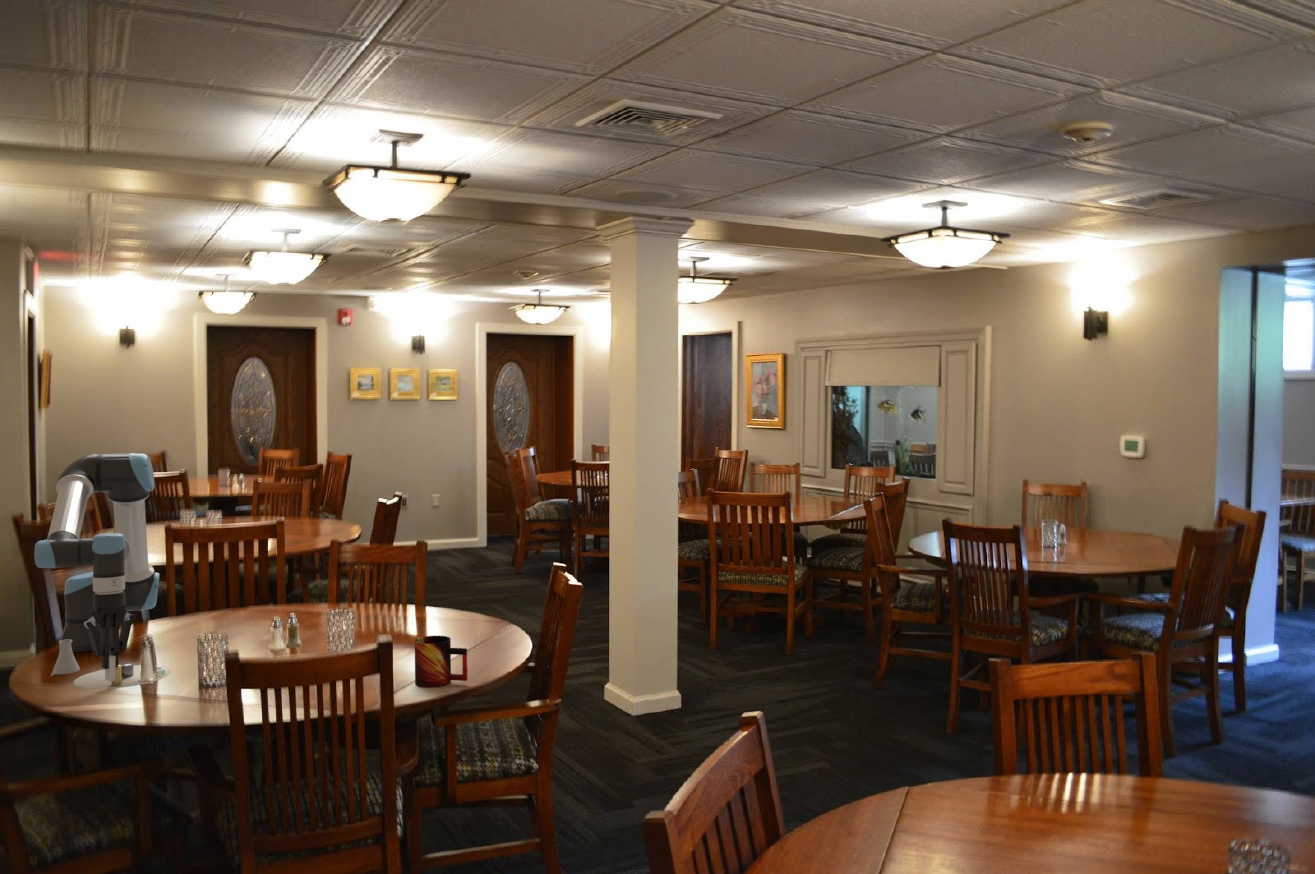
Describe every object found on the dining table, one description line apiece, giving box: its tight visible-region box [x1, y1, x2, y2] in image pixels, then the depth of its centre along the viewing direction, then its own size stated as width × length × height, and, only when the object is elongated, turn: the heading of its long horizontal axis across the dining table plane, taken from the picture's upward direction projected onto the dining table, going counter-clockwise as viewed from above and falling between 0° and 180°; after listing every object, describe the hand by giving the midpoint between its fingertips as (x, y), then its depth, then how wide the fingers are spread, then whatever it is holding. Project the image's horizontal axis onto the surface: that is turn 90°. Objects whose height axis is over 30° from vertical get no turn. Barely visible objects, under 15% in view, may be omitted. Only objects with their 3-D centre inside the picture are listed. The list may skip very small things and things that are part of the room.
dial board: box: [73, 664, 172, 690], centre depth 278 cm, size 24×24×1 cm
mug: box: [414, 635, 469, 689], centre depth 275 cm, size 10×14×12 cm
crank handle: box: [111, 661, 134, 686], centre depth 274 cm, size 14×5×5 cm, turn 19°
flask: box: [50, 639, 81, 677], centre depth 284 cm, size 7×7×10 cm
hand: (110, 679), depth 267 cm, fingers closed
